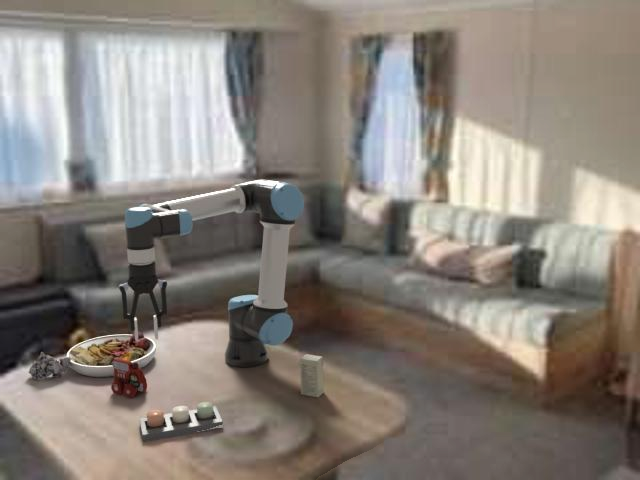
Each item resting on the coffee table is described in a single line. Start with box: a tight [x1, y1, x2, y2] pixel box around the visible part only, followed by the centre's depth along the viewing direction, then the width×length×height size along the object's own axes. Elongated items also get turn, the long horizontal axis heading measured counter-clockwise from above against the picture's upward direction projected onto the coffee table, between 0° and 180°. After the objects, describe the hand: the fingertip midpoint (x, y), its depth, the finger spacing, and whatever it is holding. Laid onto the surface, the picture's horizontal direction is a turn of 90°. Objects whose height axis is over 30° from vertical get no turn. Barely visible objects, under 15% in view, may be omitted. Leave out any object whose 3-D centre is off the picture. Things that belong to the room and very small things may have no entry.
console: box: [139, 405, 224, 442], centre depth 190 cm, size 22×10×2 cm, turn 110°
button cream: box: [171, 405, 190, 423], centre depth 189 cm, size 5×5×3 cm
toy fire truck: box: [110, 359, 148, 399], centre depth 211 cm, size 7×12×10 cm, turn 64°
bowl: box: [66, 331, 157, 378], centre depth 234 cm, size 30×30×8 cm
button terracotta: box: [146, 409, 165, 428], centre depth 187 cm, size 5×5×3 cm
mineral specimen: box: [28, 351, 72, 382], centre depth 222 cm, size 12×9×10 cm
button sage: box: [196, 401, 214, 419], centre depth 191 cm, size 5×5×3 cm
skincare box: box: [299, 353, 325, 398], centre depth 209 cm, size 6×4×12 cm
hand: (146, 338), depth 194 cm, fingers open, 5 cm apart
